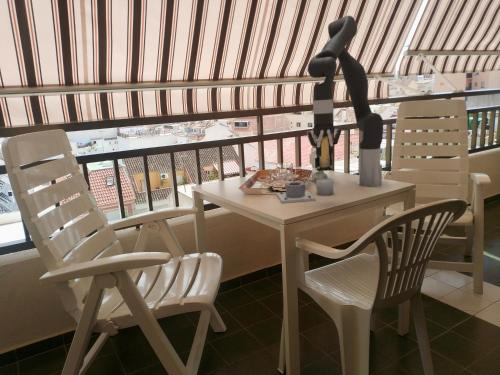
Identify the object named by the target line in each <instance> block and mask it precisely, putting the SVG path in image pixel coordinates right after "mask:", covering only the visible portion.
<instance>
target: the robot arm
mask: <svg viewBox="0 0 500 375" xmlns="http://www.w3.org/2000/svg"><path fill="white" fill-rule="evenodd" d="M357 32H358V25H357V21H356V20H355V18H354V17H353V16H352V15H346V16H343V17H341V18H338V19H336V20H333V21H332V22H330V23H329V24H328V26H327V34H328V36H329V40H328V41H327V42H326V43H325V44H324V45H323V48H321V51H319V52H318V53H316V55H314V56H313V57H312V58H311V59H309V62H308V64H307V72H308V75H309V76H310V77H311V78H313V79H314V78H315V79H316V78H317V79H318V78H324V80H323V81H322V82H321V83H318V84H316V85H314V86H313V105H312V106H313V113H312V114H313V128H312V129H311V130H309V131H306V132H305V133H306V136H307V138H308V141H309V144H310V146H312V147H314V148H316V155H317V156H318V157H321V149H320V143H321V140H322V137H326V136H328V139H329V156H331V155H332V156H333V154H334V146H335V145H338V143H339V140H340V137H341V133H342V129H340V128H335V125H334V102H333V86H334V81H335V77H336V76H335V75H336V72H337V67H338V65H337V60H338V63H339V65H340V66H339V67H340V69H341V72H342V75H343V80H344V82H345V86H346V89H347V91H348V95H349V97H350V101H351V103H352V104H351V105H352V107H353V112H354V116H355V122H356V126H357V128H358V129H359V131H360V132H362V134H363V135H362V140H361V141H360V142H359V147H358V148H359V152H358V153H359V155H358V156H359V160H358V161H359V163H358V164H359V167H358V168H359V169H358V170H359V171H358V172H359V176H358V178H359V179H358V182H359V186H362V187H367V188H369V187H371V188H372V187H378V186H379V187H380V186H382V180H383V165H382V164H381V148H382V147H381V144H382V142H383V139H384V138H383V136H384V119H383V117H382V116H381V114H379V113H377V112H373V111H372V109H371V106H370V103H369V100H368V98H369V96H368V95H369V81H368V80H369V79H368V77H367V73H366V70H365V68H364V66H363V65H362V63H361V62H360V61H358V60H357V59H356V58H355V57H354V56H352V54H350V53H349V51H348V50H347V49H346V46H347V45H348V44H349V43H350V42H351V41H352V40H353V38H355V37H356V35H357ZM333 133H334V137H333V138H332V134H333ZM314 134H315V136H316V137H315V140H314V138H313V136H314Z"/></svg>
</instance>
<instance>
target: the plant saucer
mask: <svg viewBox="0 0 500 375" xmlns="http://www.w3.org/2000/svg"><path fill="white" fill-rule="evenodd" d="M295 179H296V180H300V181H303V182H304V185H305V184H306V181H305V180H304V179H301V178H295ZM275 180H276V179H274V180H272V181H269V182H267V183H268V184H267V185H268V186H269V187H270V188H271V187H274V186H270V185H269V184H270V183H271V182H273V181H275ZM274 188H282V189H286V188H285V187H274Z"/></svg>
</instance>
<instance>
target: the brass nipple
mask: <svg viewBox="0 0 500 375" xmlns="http://www.w3.org/2000/svg"><path fill="white" fill-rule="evenodd" d="M320 149H321V157H320V167H330V161H329V139H328V136H326V137H322V140H321V143H320Z"/></svg>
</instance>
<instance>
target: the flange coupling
mask: <svg viewBox="0 0 500 375" xmlns="http://www.w3.org/2000/svg"><path fill="white" fill-rule="evenodd" d="M285 188H286V192H281V191H279V192H276V197H277V198H278V199H279V201H280V202H281V203H282V204H289V203H300V202H303V203H304V202H312V201H313V202H315V201H316V197H315V196H314V195H312V193H311V192H309V191H308V190H306V189H305V184H304V183H301V182H291V183H287V184H285Z"/></svg>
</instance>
